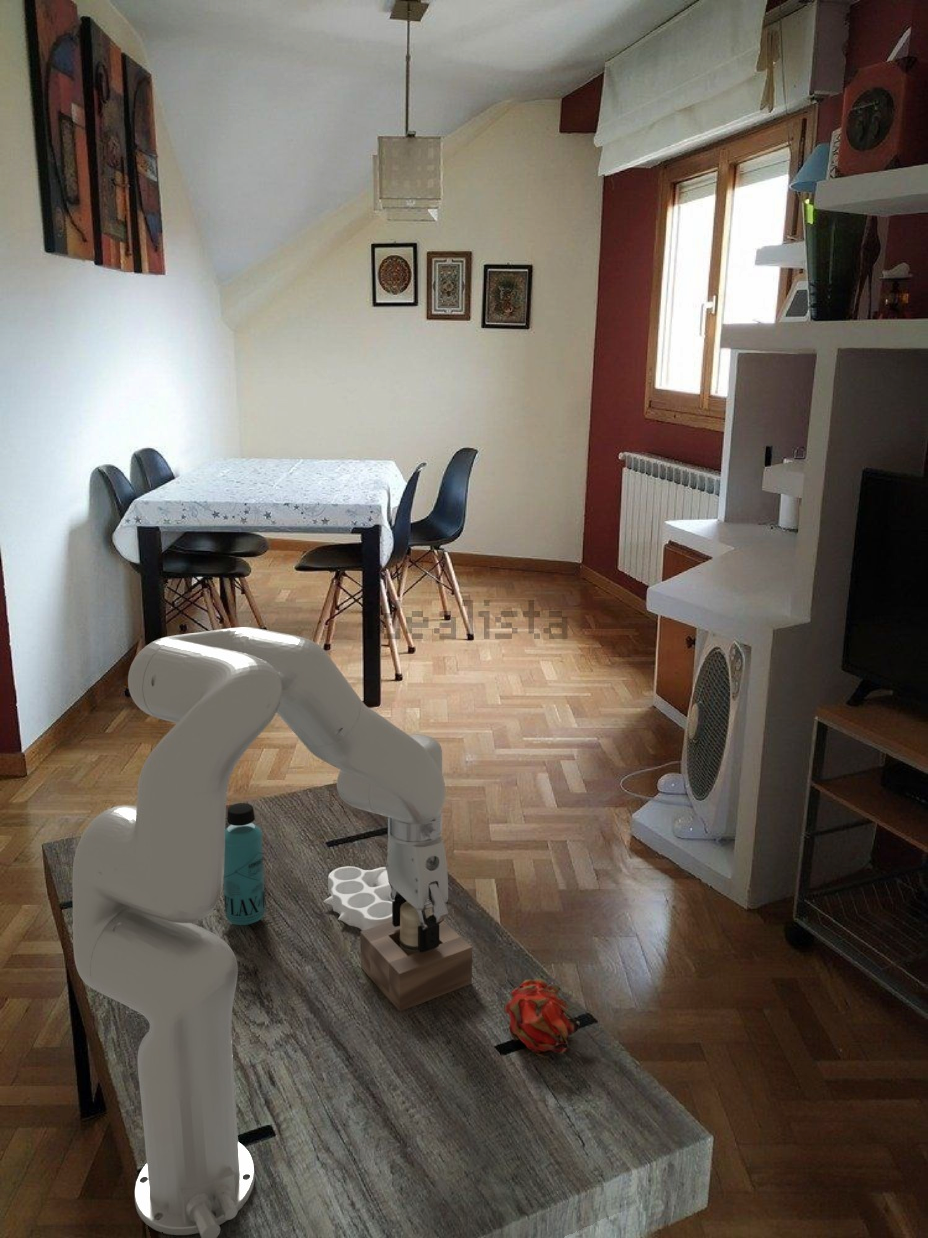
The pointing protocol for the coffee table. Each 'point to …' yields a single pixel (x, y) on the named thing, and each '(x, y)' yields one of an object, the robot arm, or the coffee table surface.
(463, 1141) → the coffee table surface
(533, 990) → the dragon fruit
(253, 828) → the beverage bottle
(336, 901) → the knuckle duster
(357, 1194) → the coffee table surface
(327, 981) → the coffee table surface
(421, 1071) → the coffee table surface
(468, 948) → the socket block
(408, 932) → the peg
